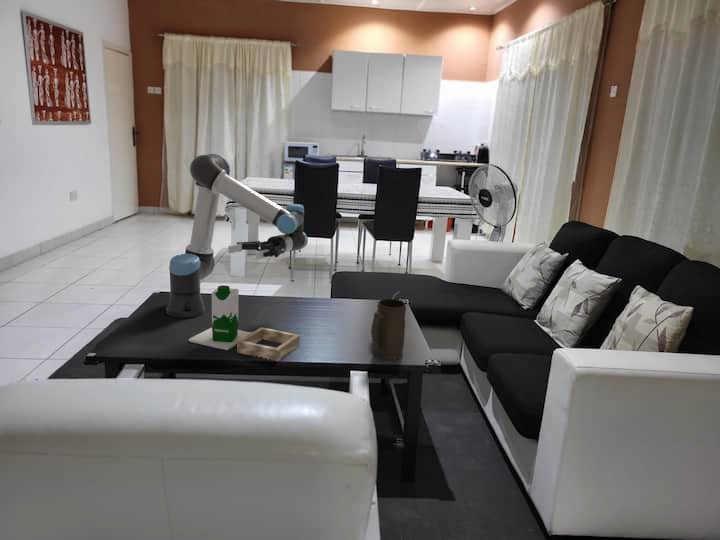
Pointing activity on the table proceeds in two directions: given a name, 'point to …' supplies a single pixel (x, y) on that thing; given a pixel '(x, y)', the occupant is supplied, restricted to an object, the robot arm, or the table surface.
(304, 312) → the table surface
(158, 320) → the table surface
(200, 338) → the tile
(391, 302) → the beer stein
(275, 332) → the wooden square tray
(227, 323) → the soya milk
